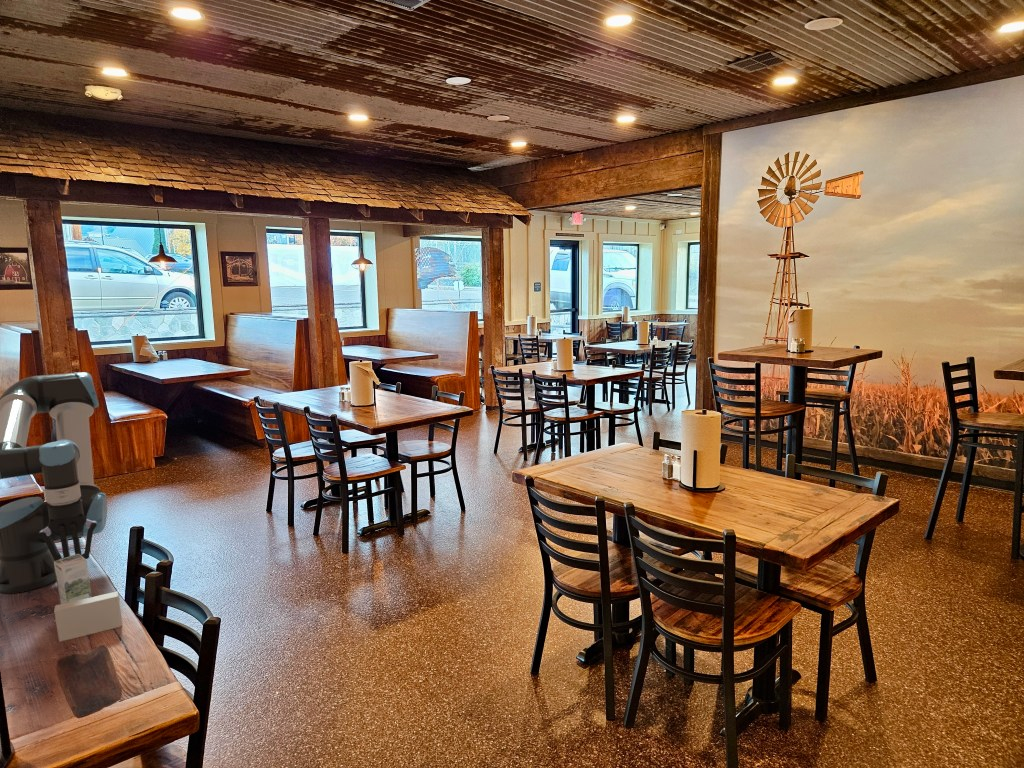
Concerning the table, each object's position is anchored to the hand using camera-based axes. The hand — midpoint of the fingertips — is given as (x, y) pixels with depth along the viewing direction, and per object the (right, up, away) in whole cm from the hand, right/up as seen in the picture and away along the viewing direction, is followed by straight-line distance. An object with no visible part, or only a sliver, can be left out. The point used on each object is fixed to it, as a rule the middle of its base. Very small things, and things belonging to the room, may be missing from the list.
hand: (77, 585), depth 178 cm
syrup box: (+4, -5, -5) cm, 8 cm away
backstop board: (+13, -7, -15) cm, 21 cm away
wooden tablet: (+25, -11, -34) cm, 44 cm away
